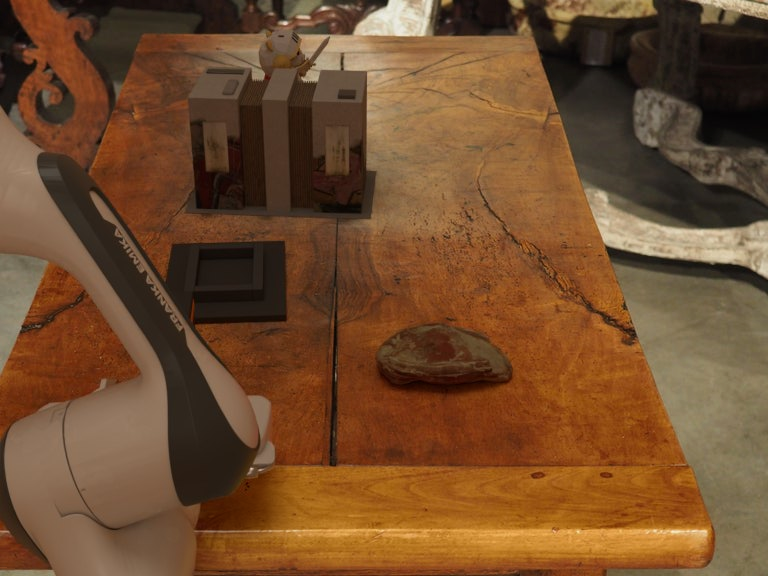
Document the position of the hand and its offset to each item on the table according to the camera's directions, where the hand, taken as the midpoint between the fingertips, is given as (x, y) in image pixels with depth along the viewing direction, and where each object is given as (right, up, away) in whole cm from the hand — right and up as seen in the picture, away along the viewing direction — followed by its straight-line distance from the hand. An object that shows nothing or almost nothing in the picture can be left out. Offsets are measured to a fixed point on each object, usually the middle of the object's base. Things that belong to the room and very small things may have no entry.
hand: (162, 382), depth 99 cm
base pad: (+2, +9, +28) cm, 30 cm away
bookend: (+6, +22, +51) cm, 56 cm away
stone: (+27, 0, +14) cm, 30 cm away
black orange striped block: (-1, -2, +8) cm, 8 cm away
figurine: (+5, +35, +73) cm, 81 cm away
